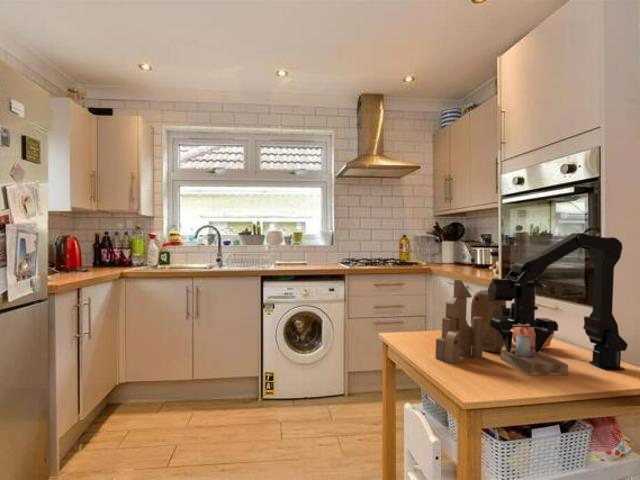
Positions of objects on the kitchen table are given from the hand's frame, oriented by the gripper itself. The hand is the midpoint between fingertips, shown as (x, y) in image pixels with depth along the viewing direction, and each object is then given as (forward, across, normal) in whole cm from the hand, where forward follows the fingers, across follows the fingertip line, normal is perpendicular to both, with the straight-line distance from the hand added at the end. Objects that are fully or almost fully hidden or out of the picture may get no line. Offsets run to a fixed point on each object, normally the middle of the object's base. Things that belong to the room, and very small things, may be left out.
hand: (522, 352), depth 118 cm
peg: (+3, 0, 0) cm, 3 cm away
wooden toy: (+4, +17, -6) cm, 18 cm away
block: (+4, +3, -16) cm, 17 cm away
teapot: (+4, -15, -18) cm, 24 cm away
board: (+4, -2, +2) cm, 5 cm away
